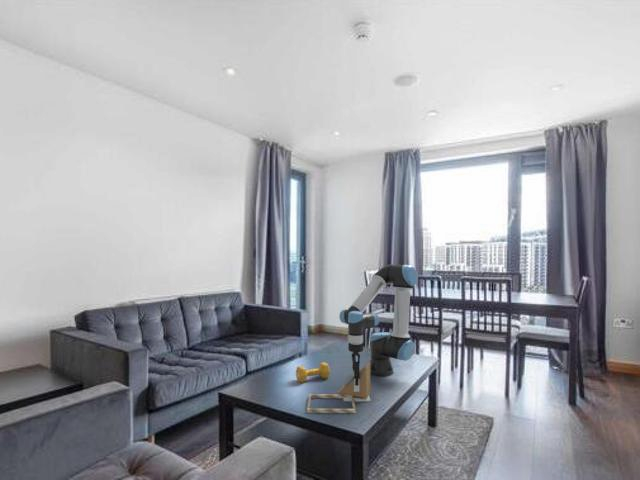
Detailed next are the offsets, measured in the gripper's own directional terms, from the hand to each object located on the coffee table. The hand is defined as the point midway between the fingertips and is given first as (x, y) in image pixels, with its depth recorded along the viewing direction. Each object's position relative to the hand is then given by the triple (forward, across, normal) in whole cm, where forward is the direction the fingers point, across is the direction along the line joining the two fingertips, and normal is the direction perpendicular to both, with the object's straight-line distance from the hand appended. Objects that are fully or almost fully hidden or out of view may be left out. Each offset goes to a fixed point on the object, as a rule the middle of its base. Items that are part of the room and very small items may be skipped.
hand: (356, 387), depth 183 cm
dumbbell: (+5, -23, -23) cm, 33 cm away
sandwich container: (+3, 0, -1) cm, 3 cm away
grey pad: (+4, 0, 0) cm, 4 cm away
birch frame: (+4, +10, -12) cm, 17 cm away
